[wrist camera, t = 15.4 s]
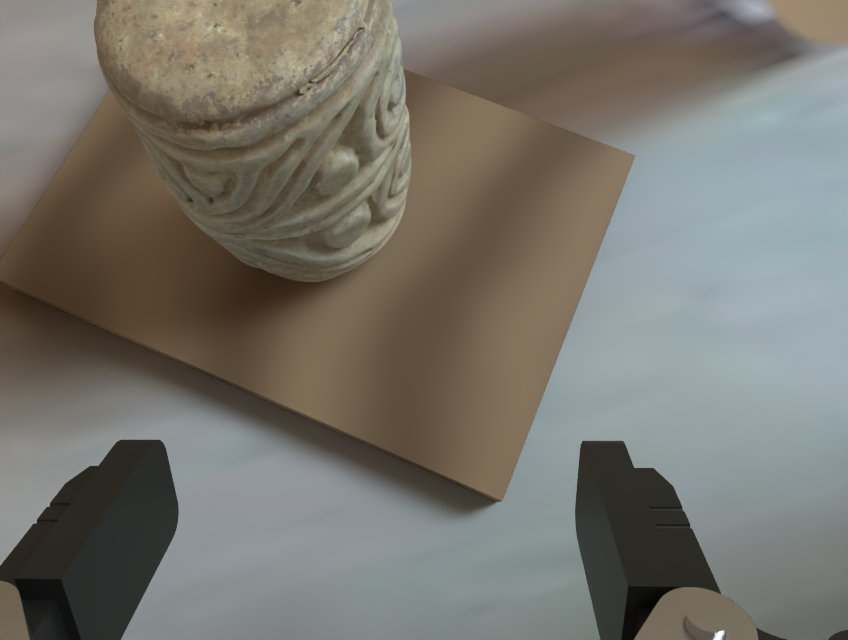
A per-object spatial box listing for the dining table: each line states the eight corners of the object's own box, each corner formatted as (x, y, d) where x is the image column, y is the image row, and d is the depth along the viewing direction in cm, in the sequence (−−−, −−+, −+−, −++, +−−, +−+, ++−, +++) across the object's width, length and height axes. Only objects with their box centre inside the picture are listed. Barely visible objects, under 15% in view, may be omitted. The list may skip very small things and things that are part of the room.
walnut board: (624, 174, 28) (635, 155, 27) (497, 502, 24) (502, 501, 23) (189, 10, 30) (177, -16, 29) (13, 289, 27) (-10, 276, 25)
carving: (184, 230, 26) (-8, -6, 14) (331, 103, 27) (265, -203, 16) (301, 345, 24) (194, 190, 13) (448, 206, 26) (469, -44, 14)
